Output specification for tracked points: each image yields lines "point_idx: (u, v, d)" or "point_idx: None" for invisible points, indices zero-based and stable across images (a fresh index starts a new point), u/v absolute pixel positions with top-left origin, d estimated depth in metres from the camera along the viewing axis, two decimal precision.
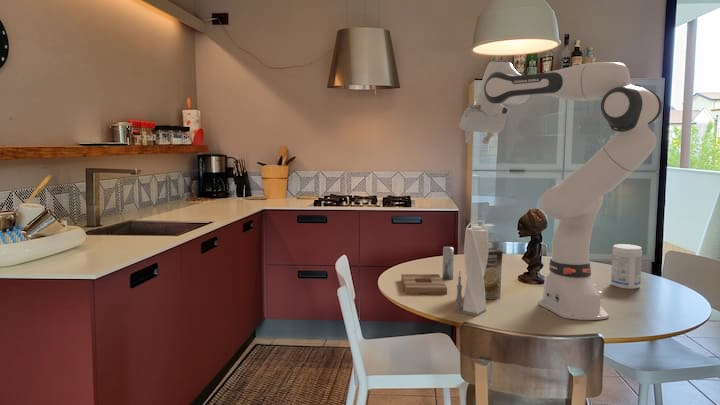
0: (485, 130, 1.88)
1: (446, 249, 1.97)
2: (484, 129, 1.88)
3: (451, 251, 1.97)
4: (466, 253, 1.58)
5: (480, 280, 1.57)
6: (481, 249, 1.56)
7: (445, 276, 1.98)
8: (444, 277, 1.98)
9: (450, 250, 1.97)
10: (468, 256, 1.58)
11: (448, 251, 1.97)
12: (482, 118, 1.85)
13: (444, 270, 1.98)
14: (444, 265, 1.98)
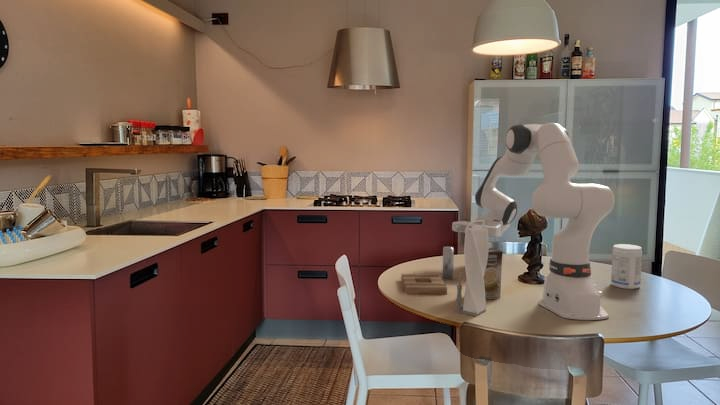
0: (474, 225, 2.10)
1: (446, 249, 1.97)
2: (473, 224, 2.11)
3: (451, 251, 1.97)
4: (466, 253, 1.58)
5: (480, 280, 1.57)
6: (481, 249, 1.56)
7: (445, 276, 1.98)
8: (444, 277, 1.98)
9: (450, 250, 1.97)
10: (468, 256, 1.58)
11: (448, 251, 1.97)
12: (472, 223, 2.15)
13: (444, 270, 1.98)
14: (444, 265, 1.98)
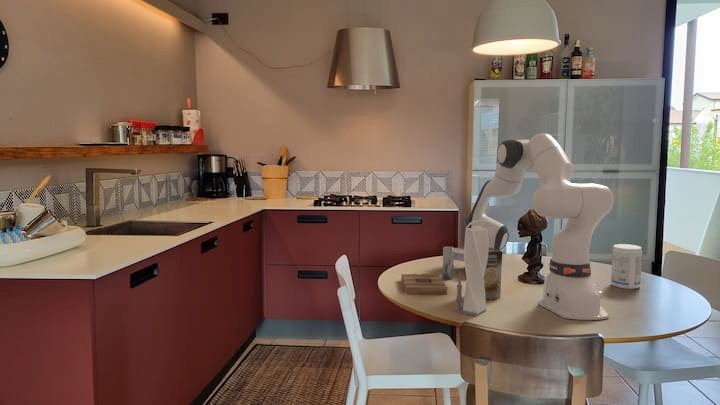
0: None
1: (446, 249, 1.97)
2: None
3: (451, 251, 1.97)
4: (466, 253, 1.58)
5: (480, 280, 1.57)
6: (481, 249, 1.56)
7: (445, 276, 1.98)
8: (444, 277, 1.98)
9: (450, 250, 1.97)
10: (468, 256, 1.58)
11: (448, 251, 1.97)
12: None
13: (444, 270, 1.98)
14: (444, 265, 1.98)
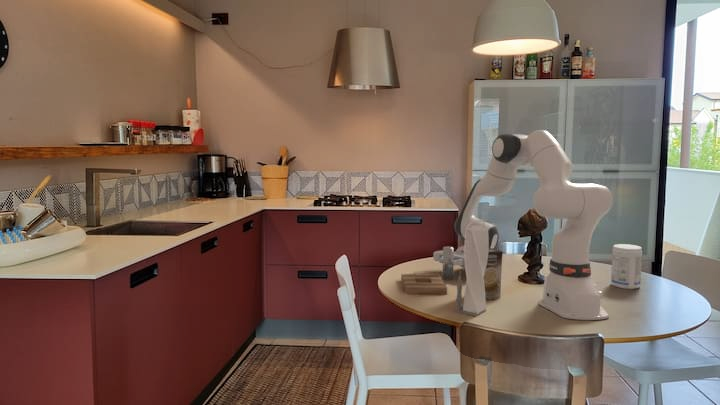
0: (456, 255, 2.02)
1: (446, 249, 1.97)
2: (454, 255, 2.02)
3: (451, 251, 1.97)
4: (466, 253, 1.58)
5: (480, 280, 1.57)
6: (481, 249, 1.56)
7: (445, 276, 1.98)
8: (444, 277, 1.98)
9: (450, 250, 1.97)
10: (468, 256, 1.58)
11: (448, 251, 1.97)
12: (454, 253, 2.07)
13: (444, 270, 1.98)
14: (444, 265, 1.98)
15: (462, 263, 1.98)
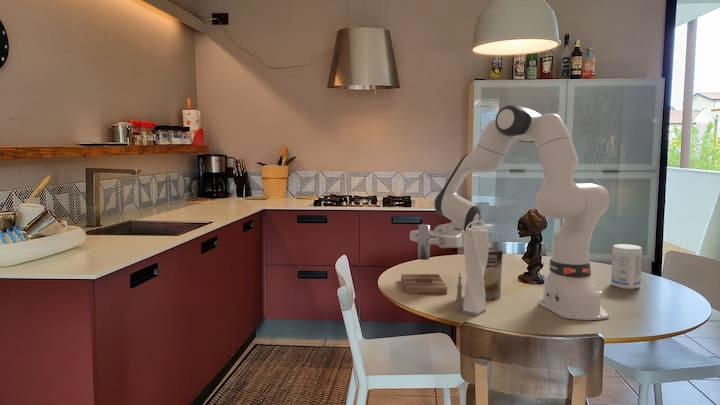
0: (432, 234, 1.89)
1: (422, 227, 1.84)
2: (431, 233, 1.89)
3: (427, 229, 1.84)
4: (466, 253, 1.58)
5: (480, 280, 1.57)
6: (481, 249, 1.56)
7: (420, 256, 1.85)
8: (420, 257, 1.85)
9: (426, 228, 1.83)
10: (468, 256, 1.58)
11: (424, 229, 1.83)
12: (432, 232, 1.94)
13: (420, 249, 1.85)
14: (420, 244, 1.85)
15: (439, 242, 1.85)
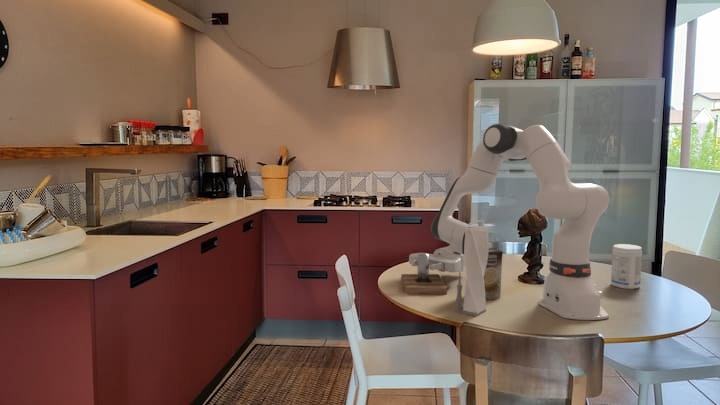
0: (432, 258, 1.90)
1: (420, 256, 1.85)
2: (431, 258, 1.90)
3: (426, 258, 1.85)
4: (466, 253, 1.58)
5: (480, 280, 1.57)
6: (481, 249, 1.56)
7: None
8: None
9: (425, 257, 1.85)
10: (468, 256, 1.58)
11: (423, 258, 1.85)
12: (431, 255, 1.95)
13: (419, 278, 1.86)
14: (419, 273, 1.86)
15: (441, 267, 1.85)
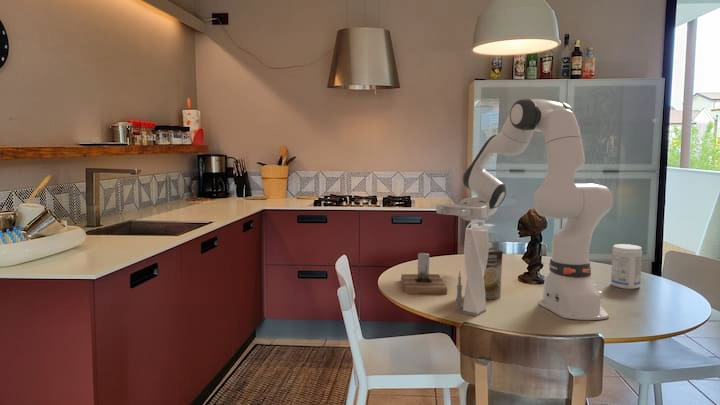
0: (459, 206, 1.99)
1: (421, 256, 1.85)
2: (458, 206, 2.00)
3: (426, 258, 1.85)
4: (466, 253, 1.58)
5: (480, 280, 1.57)
6: (481, 249, 1.56)
7: None
8: None
9: (425, 257, 1.85)
10: (468, 256, 1.58)
11: (423, 258, 1.85)
12: (457, 205, 2.05)
13: (419, 278, 1.86)
14: (419, 273, 1.86)
15: (470, 213, 1.94)
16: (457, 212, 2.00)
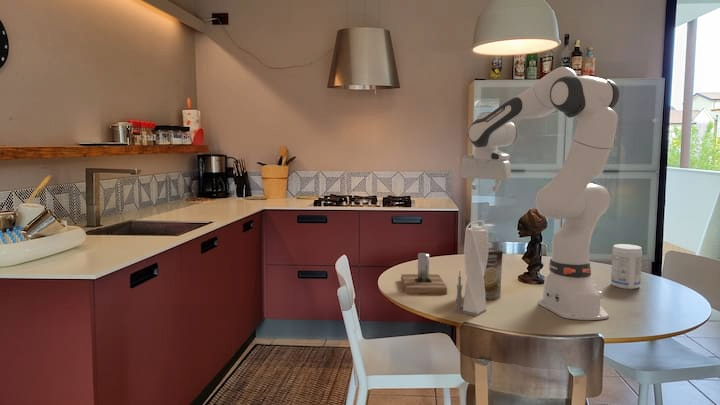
0: (483, 176, 2.02)
1: (421, 256, 1.85)
2: (482, 175, 2.02)
3: (426, 258, 1.85)
4: (466, 253, 1.58)
5: (480, 280, 1.57)
6: (481, 249, 1.56)
7: None
8: None
9: (425, 257, 1.85)
10: (468, 256, 1.58)
11: (423, 258, 1.85)
12: (476, 165, 2.04)
13: (419, 278, 1.86)
14: (419, 273, 1.86)
15: (500, 181, 1.99)
16: None
